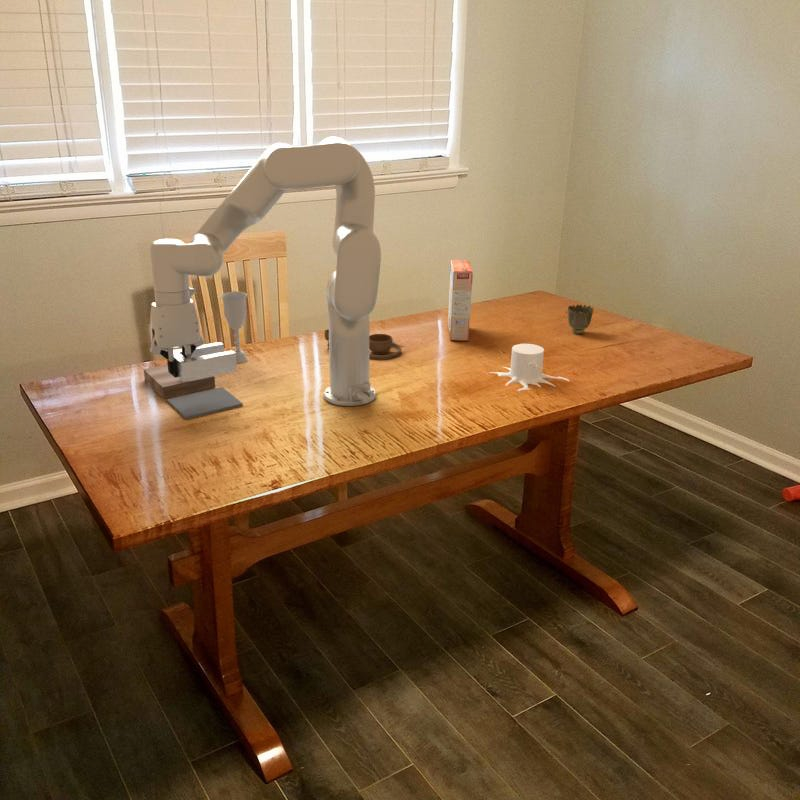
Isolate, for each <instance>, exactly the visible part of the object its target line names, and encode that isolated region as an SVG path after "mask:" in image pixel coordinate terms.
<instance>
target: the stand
mask: <svg viewBox="0 0 800 800" xmlns="http://www.w3.org/2000/svg"><path fill="white" fill-rule="evenodd" d="M143 376H144V377H143V378H144V381H145V382H146V383H147V384H148V385H149V386H150V387H151V388H152V389H154V390H155V392H156V393H158V395H159V396H161V397H162V399H170V398H175V397H179V396H184V395H188V394H193V393H197V392H202V391H206V390H211V389H215V388H216V381H215V379H216V378H215V377H216V376H210V377H205V378H200V379H195V380H190V381H185V382H182V381H181V380H180V379H179V378H178V377H176V378H175V377H174V376H173V375H171V374H170V373H169V371H168V364H164V365H159V366H154V367H149V368H144V369H143ZM214 387H215V388H214ZM210 388H211V389H210ZM192 392H193V393H192ZM187 393H188V394H187ZM183 394H184V395H183Z"/></svg>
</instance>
